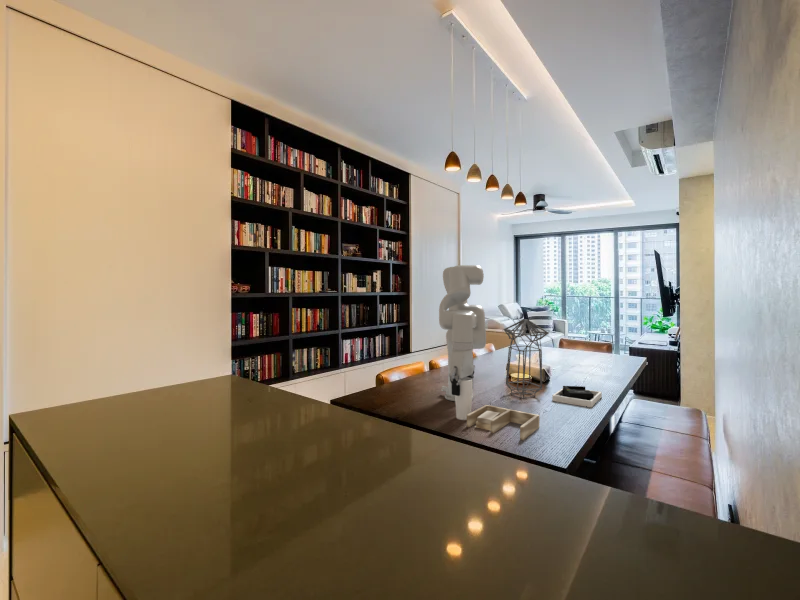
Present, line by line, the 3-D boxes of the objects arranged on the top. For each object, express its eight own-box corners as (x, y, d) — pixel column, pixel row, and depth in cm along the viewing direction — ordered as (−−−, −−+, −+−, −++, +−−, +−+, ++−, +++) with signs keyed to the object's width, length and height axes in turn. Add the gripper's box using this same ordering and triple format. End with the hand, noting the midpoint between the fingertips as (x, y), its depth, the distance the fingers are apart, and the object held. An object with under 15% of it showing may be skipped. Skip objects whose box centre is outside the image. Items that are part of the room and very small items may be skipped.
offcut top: (477, 421, 135) (477, 417, 135) (487, 414, 143) (487, 410, 143) (491, 424, 133) (491, 419, 133) (500, 417, 140) (500, 412, 140)
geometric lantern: (527, 390, 187) (529, 317, 185) (549, 399, 172) (551, 320, 170) (498, 392, 182) (500, 317, 180) (518, 402, 167) (521, 321, 165)
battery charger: (593, 403, 164) (593, 393, 164) (569, 402, 166) (569, 393, 165) (585, 395, 176) (585, 386, 176) (562, 394, 178) (562, 385, 178)
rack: (466, 429, 135) (466, 414, 135) (486, 417, 147) (486, 404, 147) (523, 443, 123) (523, 427, 123) (539, 429, 135) (539, 415, 134)
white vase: (472, 422, 141) (472, 381, 140) (453, 421, 142) (453, 380, 142) (472, 416, 147) (472, 377, 147) (454, 415, 149) (454, 376, 148)
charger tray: (552, 400, 169) (552, 395, 169) (564, 391, 183) (565, 386, 183) (591, 407, 159) (591, 401, 159) (601, 397, 173) (601, 391, 173)
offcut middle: (476, 426, 135) (476, 422, 135) (486, 418, 144) (486, 414, 144) (491, 429, 132) (491, 425, 132) (501, 421, 140) (501, 416, 140)
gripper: (465, 342, 153) (465, 385, 154) (441, 348, 139) (441, 395, 140) (482, 343, 148) (482, 388, 149) (459, 350, 135) (459, 399, 135)
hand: (462, 391), depth 145 cm, fingers open, 9 cm apart
